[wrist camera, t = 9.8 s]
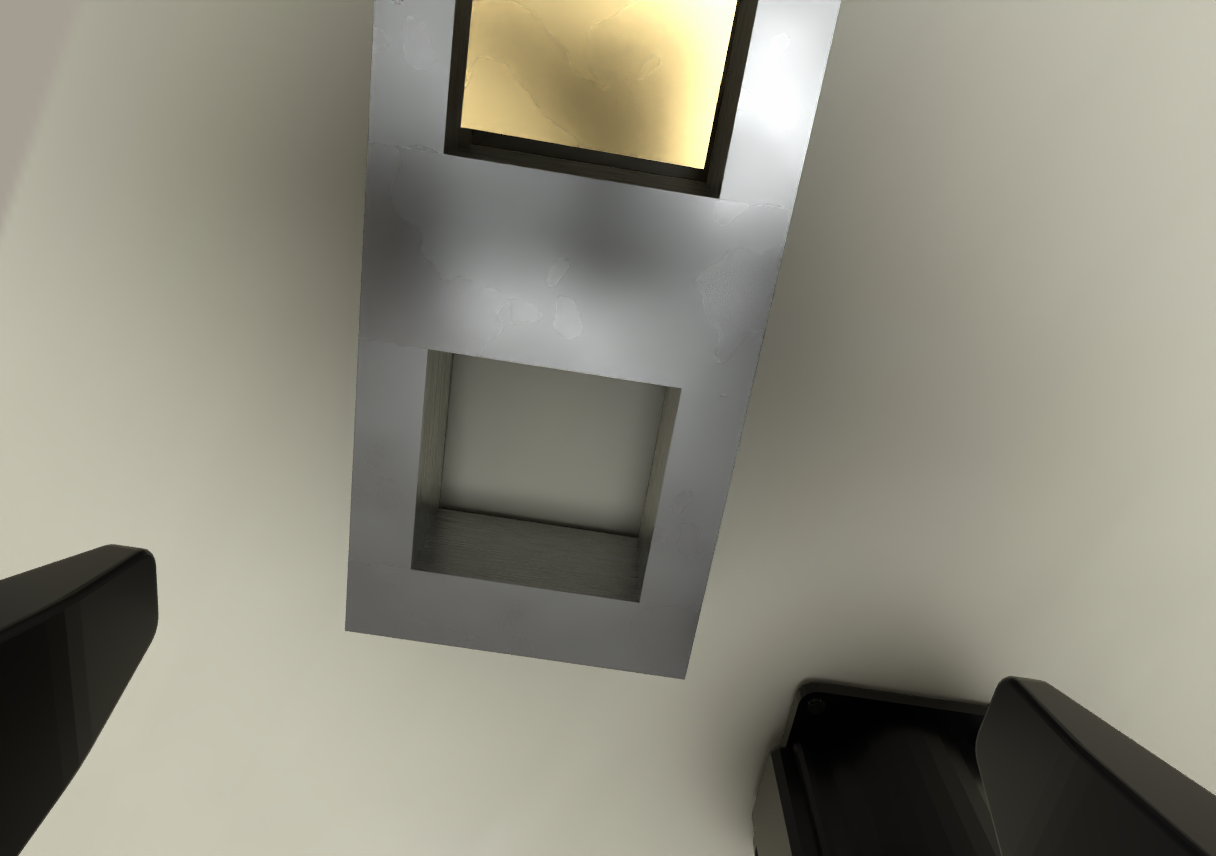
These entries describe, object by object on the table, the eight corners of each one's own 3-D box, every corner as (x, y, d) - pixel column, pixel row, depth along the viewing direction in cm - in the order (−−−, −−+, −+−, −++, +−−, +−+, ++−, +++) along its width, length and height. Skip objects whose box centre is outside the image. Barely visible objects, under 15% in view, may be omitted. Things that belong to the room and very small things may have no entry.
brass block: (724, -58, 17) (759, -113, 12) (685, 149, 19) (703, 169, 14) (527, -94, 17) (487, -163, 12) (503, 117, 18) (460, 127, 14)
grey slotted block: (852, -189, 16) (897, -247, 13) (678, 607, 23) (684, 679, 20) (432, -264, 16) (390, -338, 13) (380, 563, 23) (345, 630, 20)
